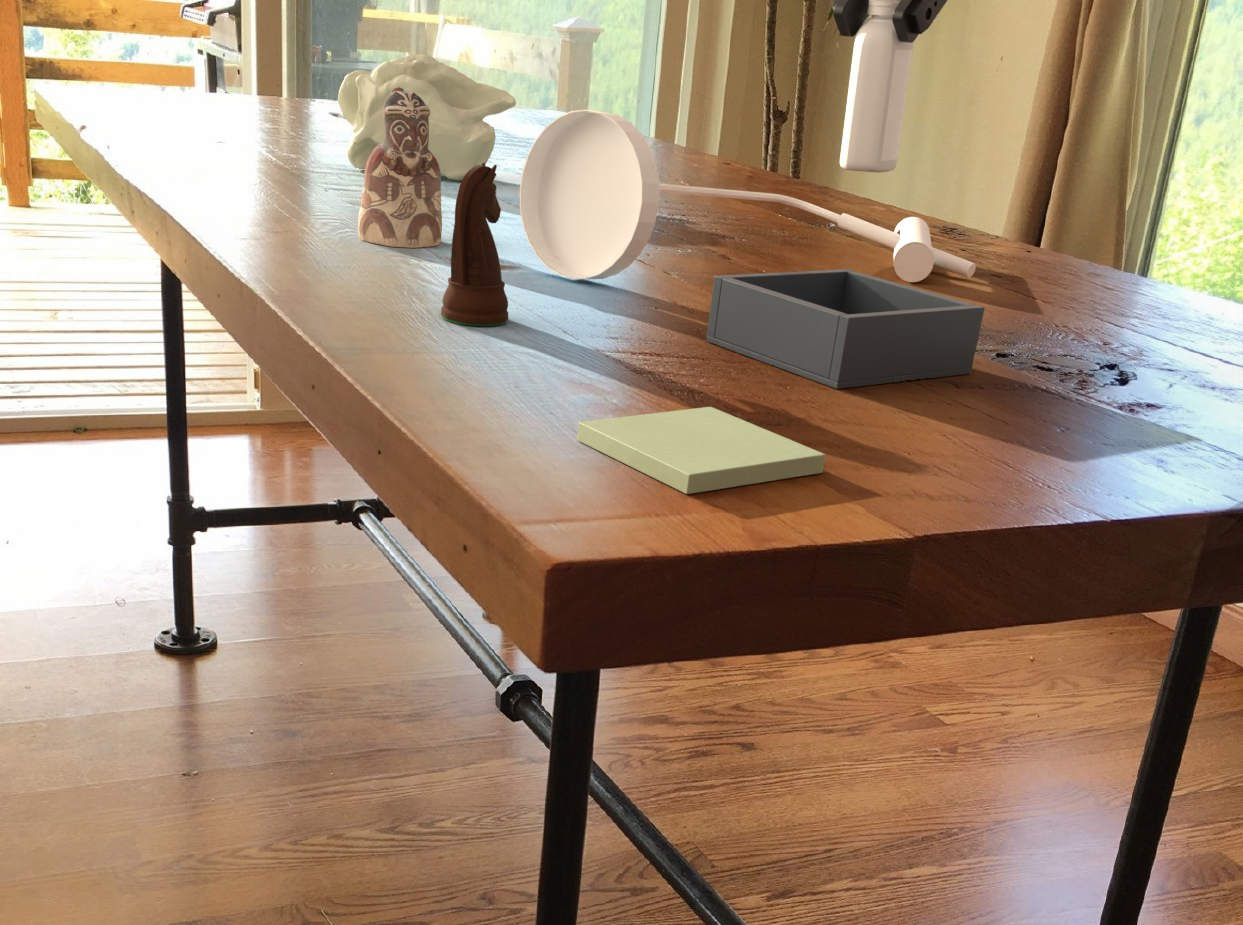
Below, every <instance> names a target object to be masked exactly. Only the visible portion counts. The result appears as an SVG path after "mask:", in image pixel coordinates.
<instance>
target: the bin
mask: <svg viewBox="0 0 1243 925" xmlns="http://www.w3.org/2000/svg"><path fill="white" fill-rule="evenodd" d="M711 291H712V292H711V299H710V307H709V316H708V324H707V331H706V338H705V342H707V341H709V342H708V343H710V342H711V343H710V344H712V343H713V344H712V345H715V344H716V345H715V346H718V347H721V348H723V347H724V349H726V350H729V351H731V352H735V353H738V354H740V355H743V356H745V357H748V358H751V359H753V360H756V361H759V362H762V363H765V364H767V365H770V366H773V365H774V366H773V367H776V368H777V369H782V370H784V371H786V372H789V373H791V374H794V375H797V376H800V377H803V378H806V379H808V380H811V381H813V382H816V383H819V384H822V385H825V386H827V387H830V388H832V389H835V390H840V389H849V388H859V387H866V386H876V384H877V385H884V384H885V385H886V384H893V383H892V382H894V383H899V382H898V381H903V382H906V381H905V380H911V381H918V380H917V379H920V380H926V379H925V378H929V379H937V378H947V377H954V376H963V375H971V373H972V368H973V365H974V360H975V355H976V352H977V347H978V341H979V337H980V331H981V327H982V323H983V318H984V314H985V308H986V307H985V306H981V305H978V304H975V303H971V302H967V301H963V300H959V299H956V298H953V297H949V296H945V295H942V294H938V293H934V292H931V291H927V290H923V289H921V288H916V287H913V286H910V285H906V284H903V283H898V282H895V281H891V280H888V279H884V278H881V277H877V276H874V275H870V274H866V273H863V272H859V271H857V270H852V269H848V268H841V269H840V268H839V269H819V270H818V269H817V270H800V271H799V270H798V271H782V272H780V271H779V272H763V273H762V272H761V273H742V274H723V275H720V274H719V275H714V277H713V284H712V290H711ZM895 381H896V382H895Z"/></svg>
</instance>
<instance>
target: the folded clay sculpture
mask: <svg viewBox="0 0 1243 925" xmlns="http://www.w3.org/2000/svg"><path fill="white" fill-rule="evenodd" d="M396 87H400V88H402V89H403V90H404V91H410V92H414V93H415V94H416V95H418V96H419V97H420V98H421V99H422V100H423V101H424V103H425V104H426V106H427V107H428V108H429V109H430V115H429V142H428V150H430V152H431V153H432V154H433V156H434V157H435V158H436V160H437V162H438V164H439V168H440V175H441V176H444V177H446V178H447V179H449V180H453V181H462V179H463V178H464V176H465V174H466V173H467V172H468V171H469V170H470V169H471V168H473V167H474V166H477V165H482V164H483V163H485V166H487V165H486V164H488V161H489V159H490V157H491V155H492V153H493V150H494V148H495V143H496V139H497V138H496V130H495V127H494V126H491V125H490V124H489V123H488V122H486V121H484V119H485V118H486V117H488V116H493V115H498V114H501V113H503V112H506V111H508V110H509V109H510V110H511V109H512V108H514V107H516V105H517V101H516V99H515V97H514V96H513V95H512V94H511V93H509V92H508V91H506V90H505V89H501V88H499V87H495V86H491V85H488V84H486V83H485V84H484V83H481V82H476V81H475V80H474V79H472V78H471V77H469V76H467V75H465V74H464V73H463V72H460V71H459V70H458V69H456V68H455V67H453V66H449V65H447V64H445V63H444V62H440V61H438V60H437V59H436V58H435V57H433V56H431V55H428V54H425V53H422V54H410V55H406V56H400V57H395V58H394V59H392V60H385V61H384V62H382V63H381V64H380V65H378V66H377V67H374V68H373V69H372V70H371V71H369V70H364V69H361V70H360V69H356V70H353V71H352V72H350V73H348V74H346V75H345V76H344V79H343V81H342V83H341V85H340V87H339V90H338V95H337V103H338V105H339V107H340V108H339V109H340V110H341V113H342V117H343V119H344V120H346V121H347V122H348V123H349V124H350V125H351V126H352V129H351V132H352V135H351V136H350V138H349V141H348V144H347V148H346V154H347V158H348V161H349V163H350V164H351V165H352V166H353V167H354V169H356V168H359V169H365V167H366V163H367V160H368V158H369V156H370V154H371V153H372V151H373V150H374V149H375V147H376V146H378V145H379V144H381V143H383V142H384V121H383V107H384V103H385V101H386V99H387V98H388V96H389V95H390V94H392V89H394V88H396Z"/></svg>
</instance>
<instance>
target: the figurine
mask: <svg viewBox="0 0 1243 925" xmlns="http://www.w3.org/2000/svg"><path fill="white" fill-rule="evenodd" d="M429 115H430V109H429V108H428V107H427V106H426V104H425V103H424V101H423V100H422V99H421V98H420V97H419V96H418V95H416V94H415V93H414V92H410V91H404V90H403V89H402V88H400V87H396V88H394V89H392V94H390V95H389V96H388V98H387V99H386V101H385V103H384V107H383V121H384V142H383V143H381V144H379V145H378V146H376V147H375V149H374V150H373V151H372V153H371V154H370V156H369V158H368V160H367V163H366V167H365V171H363V172H364V173H363V174H364V176H363V185H362V193H361V201H360V205H359V211H358V217H357V225H358V226H357V232H358V238H359V240H361V241H363V242H368V243H371V244H376V245H381V246H386V247H392V248H411V249H416V248H417V249H418V248H429V247H438V246H441V242H442V233H443V232H442V231H443V214H442V189H441V188H442V186H441V185H442V179H441V178H442V177H441V176H442V175H440V168H439V164H438V162H437V160H436V158H435V157H434V156H433V154H432V153H431V152H430V150H428V142H429Z"/></svg>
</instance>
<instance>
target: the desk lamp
mask: <svg viewBox="0 0 1243 925" xmlns="http://www.w3.org/2000/svg"><path fill="white" fill-rule="evenodd" d="M659 178H660V177H659V173H658V167H657V163H656V160H655V157H654V154H653V151H652V149H651V147H650V145H649V144H648V141H647V140H646V139H645V137H644V135H643V134H642V132H641V131H639V129H638V128H637V127H635V125H634V124H633V123H632V122H630V121H629V120H627V119H625V118H624V117H622V116H620V115H618V114H615V113H610V112H606V111H601V110H600V111H599V110H593V109H578V110H570V111H568V112H566V113H564V114H561V115H559V116H557V117H556V118H555V119H553V120H552V121H551V122H550V123H548V124H547V125H546V126H545V127H544V129H542V131H541V132H540V133H539V134H538V136H537V137H536V138H535V140H534V142H533V144H532V146H531V148H530V149H529V152H528V153H527V156H526V160H525V163H524V165H523V169H522V172H521V178H520V184H519V185H520V186H519V213H520V218H521V222H522V228H523V231H524V233H525V236H526V239H527V242H528V244H529V246H530V248H531V249H532V251H533V253H534V254H535V257H537V258H538V259H539V260H540V262H541V263H542V264H543V265H544V266H545V267H546V268H547V269H549V270H550V271H552V272H554V273H555V274H557V276H561V277H563V278H568V279H570V280H604V279H607V278H610V277H613V276H614V277H615V276H617V275H618V274H619V273H621V272H623V271H625V270H626V269H627V268H629V267H630V266H631V265H632V264H633V263H634V262H635V261H636V259H637V258H638V257H639V256H640V255H641V254H642V252H643V250H644V249H645V248H646V245H647V244H648V242H649V241H650V238H651V236H652V233H653V230H654V227H655V225H656V222H657V215H658V210H659V206H660V194H673V195H684V196H685V195H686V196H698V197H709V198H710V197H711V198H721V199H722V198H723V199H735V200H746V201H747V200H748V201H758V202H759V201H761V202H771V203H772V202H773V203H777V204H782V205H786V206H790V207H794V208H797V209H800V210H803V211H806V212H808V213H811V214H814V215H816V216H818V217H821V218H823V219H826V220H829V221H832V222H834V223H837V224H836V225H837V227H838V228H840V229H842V230H844V231H847V232H850V233H852V234H855V235H858V236H859V237H862V238H866V239H867V240H870V241H873V242H875V243H878V244H881V245H882V246H885V247H888V248H891V249H893V269H894V272H895V274H896V275H897V276H898V277H899V278H900V279H901V280H902V281H905V282H906V283H907V282H908V283H917V282H920V281H922V280H924V279H926V278H927V277H928V276H929V275H930V274H931V272H932V270H933V268H934V266H936V267H939V268H941V269H944V270H947V271H948V272H949V271H950V272H951V273H955V274H957V275H958V276H962V277H964V278H966V279H971V278H972V277H973V275H974V274H975V272H976V269H977V268H976V267H977V264H976V263H975V262H972V261H969V260H967V259H964V258H962V257H960V256H956V255H954V254H952V253H949V252H946V251H944V250H941V249H939V248H936V247H933V245H932V237H931V232H930V227H929V225H928V223H927V222H926V221H925V220H924V219H922V218H920V217H917V216H909V217H905V218H903V219H902V220H901V221H900V222H899V223H898V224H897V225H896V226H895V228H894V231H892V230H889V229H887V228H885V227H882V226H879V225H877V224H874V223H871V222H869V221H866V220H864V219H861V218H858V217H856V216H853V215H851V214H848V213H845V212H843V213H841V214H838V213H836V212H834V211H830V210H828V209H826V208H822V207H820V206H818V205H815V204H813V203H810V202H808V201H804V200H801V199H798V198H795V197H792V196H789V195H784V194H779V193H772V192H771V193H770V192H759V191H750V190H749V191H747V190H739V189H738V190H737V189H727V188H726V189H725V188H714V187H705V186H703V187H702V186H692V185H681V184H670V183H669V184H668V183H660V179H659Z"/></svg>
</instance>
